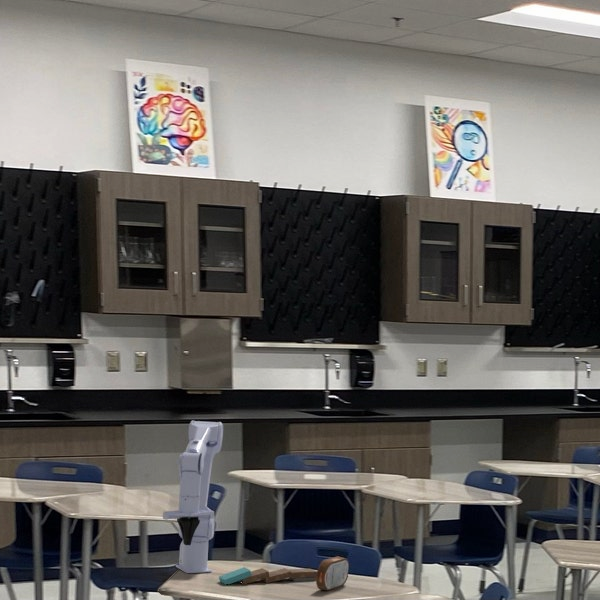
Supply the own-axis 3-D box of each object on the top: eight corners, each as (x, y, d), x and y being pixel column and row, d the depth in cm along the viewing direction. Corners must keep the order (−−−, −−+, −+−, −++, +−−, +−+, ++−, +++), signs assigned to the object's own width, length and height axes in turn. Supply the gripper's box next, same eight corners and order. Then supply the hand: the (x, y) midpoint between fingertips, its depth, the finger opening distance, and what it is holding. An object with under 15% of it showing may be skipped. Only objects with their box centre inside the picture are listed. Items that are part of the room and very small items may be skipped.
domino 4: (294, 578, 332) (320, 577, 335) (288, 575, 336) (314, 574, 339) (294, 584, 332) (319, 583, 335) (288, 580, 336) (313, 579, 339)
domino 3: (291, 572, 332) (316, 571, 335) (285, 569, 336) (310, 568, 339) (291, 578, 332) (316, 577, 335) (285, 575, 336) (309, 574, 339)
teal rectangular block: (219, 581, 327) (245, 572, 330) (225, 585, 323) (251, 575, 326) (218, 576, 327) (244, 567, 330) (224, 579, 323) (250, 570, 326)
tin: (340, 583, 333) (342, 553, 334) (350, 584, 332) (351, 555, 332) (314, 591, 320) (315, 561, 321) (324, 593, 319) (325, 562, 319)
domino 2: (265, 577, 328) (291, 571, 331) (259, 574, 332) (284, 568, 335) (266, 583, 328) (291, 576, 331) (260, 580, 332) (285, 573, 335)
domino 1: (242, 579, 325) (268, 571, 328) (236, 575, 329) (262, 568, 332) (243, 584, 325) (269, 576, 329) (237, 581, 329) (263, 573, 332)
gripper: (169, 498, 318) (167, 548, 318) (219, 497, 324) (216, 546, 324) (161, 494, 324) (158, 543, 324) (209, 493, 331) (207, 541, 330)
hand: (187, 544), depth 324 cm, fingers closed
